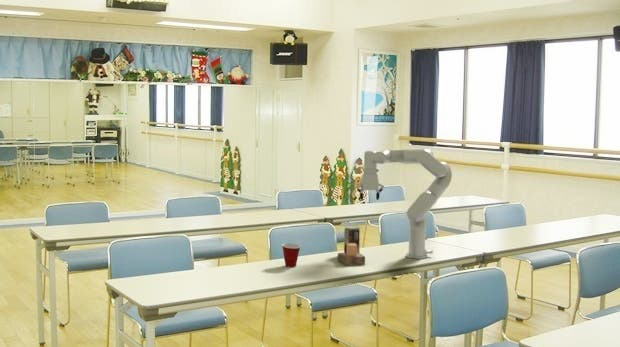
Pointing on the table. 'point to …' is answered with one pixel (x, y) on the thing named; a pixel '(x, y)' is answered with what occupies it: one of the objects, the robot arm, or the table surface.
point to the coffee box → (351, 237)
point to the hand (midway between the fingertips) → (369, 199)
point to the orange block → (351, 249)
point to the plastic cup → (290, 254)
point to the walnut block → (351, 259)
